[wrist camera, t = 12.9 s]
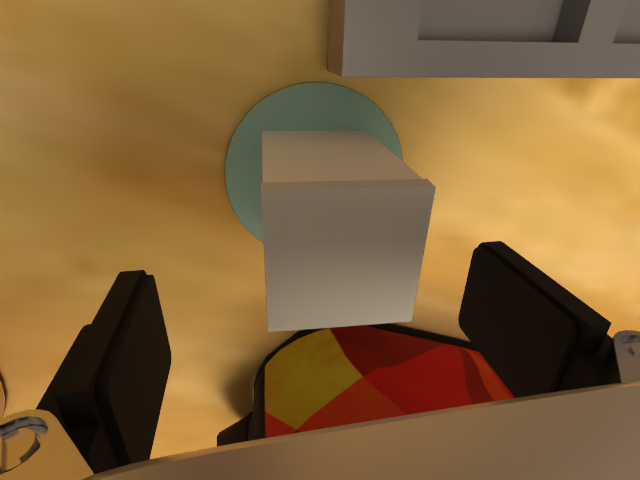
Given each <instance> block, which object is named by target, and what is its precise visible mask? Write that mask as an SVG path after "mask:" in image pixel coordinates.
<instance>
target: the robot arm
mask: <svg viewBox="0 0 640 480" xmlns="http://www.w3.org/2000/svg"><path fill="white" fill-rule="evenodd" d="M458 320H459V325H460V328H461V329H462V331H463V332H464V333H465V335H466V336H467V337H468V338H469V340H470V341H471V342H472V344H473V345H474V346H475V347H476V349H477V350H478V351H479V353H480V354H481V355H482V356H483V358H484V359H485V360H486V362H487V363H488V364H489V365H490V367H491V368H492V369H493V371H494V372H495V373H496V374H497V376H498V377H499V378H500V379H501V381H502V382H503V383H504V385H505V386H506V387H507V388H508V390H509V391H510V392H511V394H512V395H513V396H514V397H515V398H512V399H506V400H499V401H493V402H486V403H480V404H473V405H467V406H461V407H454V408H448V409H442V410H435V411H429V412H423V413H416V414H410V415H404V416H398V417H391V418H385V419H379V420H373V421H366V422H360V423H354V424H348V425H342V426H336V427H330V428H324V429H318V430H312V431H306V432H300V433H294V434H288V435H281V436H275V437H269V438H263V439H257V440H251V441H245V442H240V443H234V444H229V445H223V446H218V447H212V448H207V449H201V450H196V451H190V452H185V453H179V454H174V455H169V456H164V457H159V458H155V459H150V454H151V450H152V445H153V441H154V436H155V432H156V428H157V423H158V419H159V414H160V410H161V405H162V401H163V397H164V392H165V388H166V383H167V379H168V374H169V370H170V366H171V350H170V345H169V341H168V336H167V332H166V327H165V323H164V319H163V314H162V310H161V305H160V301H159V296H158V292H157V287H156V283H155V279H154V276H153V275H147V274H146V272H145V271H144V270H137V271H125V272H120V273H119V274H118V276H117V278H116V280H115V282H114V283H113V285H112V287H111V289H110V291H109V293H108V294H107V296H106V298H105V300H104V302H103V304H102V305H101V307H100V309H99V311H98V313H97V315H96V316H95V318H94V320H93V322H92V324H88V325H86V326H84V327H83V328H82V329H81V331H80V333H79V334H78V336H77V338H76V340H75V341H74V343H73V345H72V347H71V348H70V350H69V352H68V354H67V355H66V357H65V359H64V361H63V362H62V364H61V366H60V367H59V369H58V371H57V373H56V374H55V376H54V378H53V380H52V381H51V383H50V385H49V387H48V388H47V390H46V392H45V394H44V395H43V397H42V399H41V401H40V402H39V404H38V406H37V408H36V409H35V410H25V411H22V412H18V413H14V414H11V415H9V416H7V417H5V418H3V419H1V417H2V415H3V412H4V408H5V394H4V390H3V386H2V383H1V381H0V419H1V420H0V480H640V332H638V331H629V330H625V331H620V332H618V333H616V334H615V335H614V337H613V339H612V338H611V337H610V336H609V335H607V332H608V329H609V327H610V325H611V322H609V321H608V320H607V319H605V318H604V317H603V316H601V315H600V314H598V313H597V312H596V311H594V310H593V309H592V308H590V307H589V306H588V305H586V304H585V303H584V302H582V301H581V300H580V299H578V298H577V297H576V296H574V295H573V294H572V293H570V292H569V291H568V290H566V289H565V288H564V287H562V286H561V285H560V284H558V283H557V282H555V281H554V280H553V279H551V278H550V277H549V276H547V275H546V274H545V273H543V272H542V271H541V270H539V269H538V268H537V267H535V266H534V265H533V264H531V263H530V262H529V261H527V260H526V259H525V258H523V257H522V256H521V255H519V254H518V253H517V252H515V251H514V250H513V249H511V248H510V247H508V246H507V245H506V244H504V243H503V242H501V241H495V242H483V243H481V244H480V245H479V246H478V248H475V249H474V251H473V255H472V259H471V264H470V268H469V273H468V277H467V282H466V286H465V291H464V295H463V299H462V304H461V308H460V313H459V318H458ZM149 459H150V460H149Z"/></svg>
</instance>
